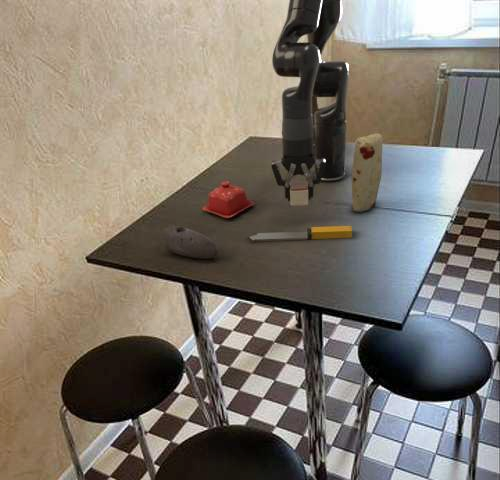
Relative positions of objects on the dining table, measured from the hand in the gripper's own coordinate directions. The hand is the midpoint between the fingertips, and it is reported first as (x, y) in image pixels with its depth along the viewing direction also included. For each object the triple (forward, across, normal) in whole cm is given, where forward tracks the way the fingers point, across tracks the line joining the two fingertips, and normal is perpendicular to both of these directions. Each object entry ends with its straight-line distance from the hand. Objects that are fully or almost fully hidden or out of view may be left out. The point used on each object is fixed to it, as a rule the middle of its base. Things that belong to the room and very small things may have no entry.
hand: (299, 198), depth 128 cm
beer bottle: (+6, -5, -48) cm, 49 cm away
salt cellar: (+1, 0, 0) cm, 1 cm away
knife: (+7, 0, +9) cm, 11 cm away
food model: (+7, -18, -6) cm, 20 cm away
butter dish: (+7, +20, -8) cm, 23 cm away
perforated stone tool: (+7, +26, +16) cm, 32 cm away
